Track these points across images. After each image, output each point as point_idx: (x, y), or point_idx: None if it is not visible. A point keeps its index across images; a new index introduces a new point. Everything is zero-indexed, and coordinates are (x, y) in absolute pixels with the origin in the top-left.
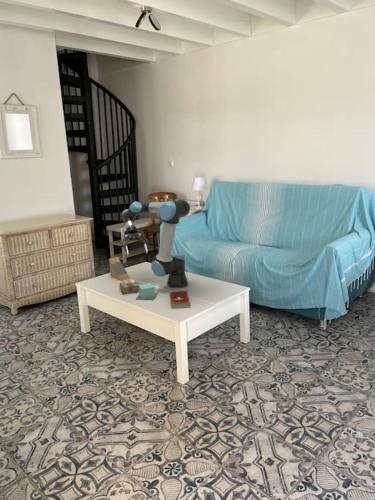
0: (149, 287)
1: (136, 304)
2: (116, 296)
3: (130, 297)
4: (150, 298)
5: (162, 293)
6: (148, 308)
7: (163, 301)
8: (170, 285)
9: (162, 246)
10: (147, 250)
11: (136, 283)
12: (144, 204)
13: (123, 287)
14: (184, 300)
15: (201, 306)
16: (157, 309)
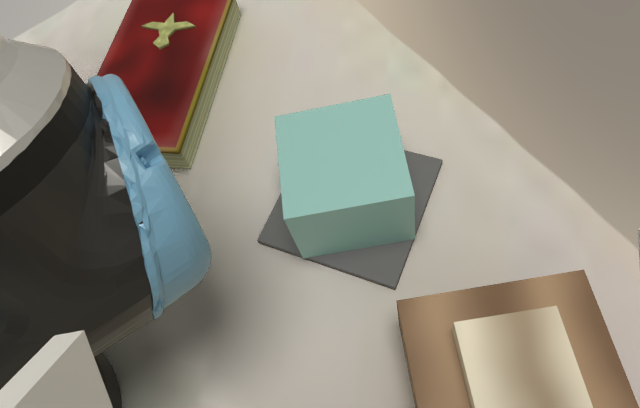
0: (318, 117)
1: (438, 84)
2: (626, 264)
3: (488, 213)
4: None
5: (222, 240)
6: (365, 25)
7: (256, 101)
8: (104, 366)
9: None
10: (46, 349)
11: (431, 369)
12: None
13: (575, 275)
14: (148, 10)
15: (91, 17)
16: (316, 9)
